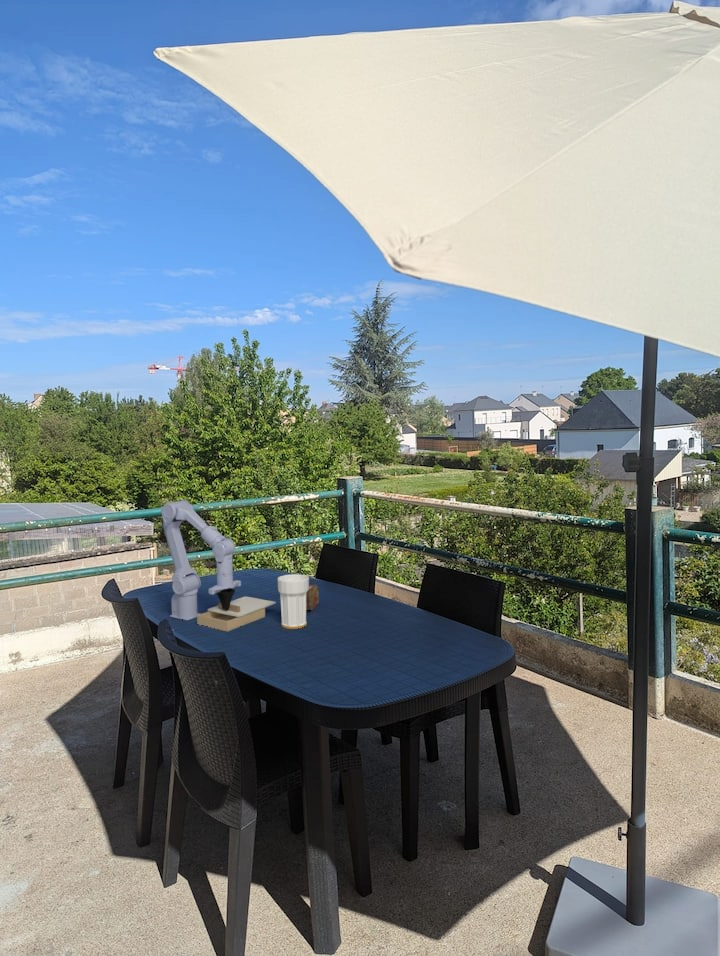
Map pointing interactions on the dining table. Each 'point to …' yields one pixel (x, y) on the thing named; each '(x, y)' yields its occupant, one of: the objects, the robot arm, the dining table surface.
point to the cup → (293, 600)
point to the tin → (312, 597)
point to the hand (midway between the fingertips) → (225, 609)
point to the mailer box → (228, 619)
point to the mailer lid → (242, 606)
